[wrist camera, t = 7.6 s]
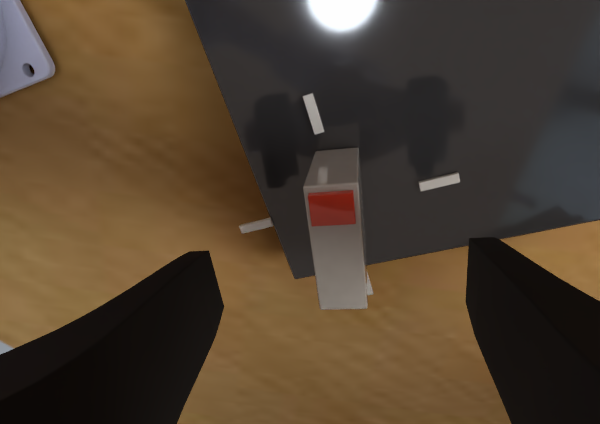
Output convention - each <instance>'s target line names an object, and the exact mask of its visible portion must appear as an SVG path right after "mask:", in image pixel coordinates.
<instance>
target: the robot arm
mask: <svg viewBox="0 0 600 424" xmlns="http://www.w3.org/2000/svg"><path fill="white" fill-rule="evenodd" d="M30 65H31V66H32V67H33V69H34V74H33V73H32V72H31V71H30V68H29V67H30ZM54 73H55V65H54V62H53V60H52V58H51V57H50V55H49V53H48V51H47V49H46V47H45V45H44V44H43V42H42V40H41V38H40V36H39V34H38V33H37V31H36V29H35V27H34V25H33V23H32V21H31V20H30V18H29V16H28V14H27V12H26V10H25V9H24V7H23V5H22V3H21V1H20V0H0V98H1V97H4V96H6V95H9V94H11V93H13V92H16V91H18V90H21V89H23V88H26V87H28V86H31V85H33V84H36V83H38V82H41V81H43V80H46V79H48V78H51V77H52V76H53V75H54ZM466 305H467V309H468V312H469V316H470V320H471V324H472V327H473V331H474V334H475V337H476V340H477V342H478V345H479V347H480V349H481V352H482V354H483V357H484V359H485V361H486V364H487V366H488V369H489V371H490V373H491V376H492V378H493V380H494V383H495V385H496V388H497V390H498V392H499V395H500V397H501V399H502V402H503V404H504V406H505V409H506V411H507V414H508V416H509V419H510V421H511V424H600V301H598V300H596V299H595V298H593V297H591V296H589V295H587V294H586V293H584V292H582V291H580V290H578V289H577V288H575V287H573V286H571V285H570V284H568V283H566V282H565V281H563V280H561V279H560V278H558V277H556V276H555V275H553V274H552V273H550V272H548V271H547V270H545V269H544V268H542V267H540V266H539V265H537V264H536V263H534V262H533V261H531V260H530V259H528V258H527V257H525V256H524V255H522V254H521V253H519V252H518V251H516V250H515V249H513V248H511V247H510V246H508V245H507V244H505V243H504V242H502V241H501V240H499V239H497V238H495V237H483V238H469V250H468V268H467V287H466ZM223 309H224V304H223V301H222V297H221V293H220V290H219V286H218V282H217V279H216V275H215V271H214V268H213V264H212V260H211V257H210V253H209V251H191V252H188V253H186V254H184V255H182V256H180V257H178V258H177V259H175V260H173V261H172V262H170V263H169V264H167V265H165V266H164V267H162V268H161V269H159V270H158V271H156V272H155V273H153V274H152V275H150V276H149V277H147V278H145V279H144V280H142V281H141V282H139V283H138V284H136V285H135V286H133V287H132V288H130V289H128V290H127V291H125V292H123V293H122V294H120V295H118V296H117V297H115V298H113V299H112V300H110V301H108V302H107V303H105V304H104V305H102V306H100V307H99V308H97V309H95V310H93V311H92V312H90V313H88V314H86V315H84V316H82V317H81V318H79V319H77V320H75V321H73V322H71V323H69V324H67V325H65V326H63V327H61V328H59V329H57V330H55V331H53V332H51V333H49V334H47V335H44V336H42V337H40V338H37V339H35V340H33V341H31V342H28V343H26V344H24V345H22V346H19V347H17V348H15V349H13V350H10V351H8V352H6V353H3V354H1V355H0V424H177V422H178V419H179V417H180V415H181V412H182V410H183V407H184V405H185V403H186V401H187V398H188V396H189V394H190V392H191V390H192V387H193V385H194V383H195V381H196V379H197V377H198V374H199V372H200V370H201V368H202V366H203V363H204V361H205V359H206V357H207V355H208V352H209V350H210V348H211V346H212V343H213V341H214V339H215V336H216V333H217V330H218V326H219V323H220V320H221V316H222V312H223Z"/></svg>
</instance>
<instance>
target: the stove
mask: <svg viewBox="0 0 600 424" xmlns="http://www.w3.org/2000/svg"><path fill="white" fill-rule="evenodd" d="M185 2H186V4H187V7H188V9H189V12H190V14H191V17H192V20H193V22H194V25H195V27H196V30H197V32H198V35H199V37H200V40H201V42H202V45H203V47H204V50H205V53H206V55H207V58H208V60H209V63H210V65H211V68H212V70H213V73H214V75H215V78H216V80H217V83H218V86H219V88H220V91H221V93H222V96H223V98H224V101H225V103H226V106H227V108H228V111H229V113H230V116H231V119H232V121H233V124H234V126H235V129H236V131H237V134H238V136H239V139H240V141H241V144H242V146H243V149H244V152H245V154H246V157H247V159H248V162H249V164H250V167H251V169H252V172H253V174H254V177H255V179H256V182H257V185H258V187H259V190H260V192H261V195H262V197H263V200H264V202H265V205H266V207H267V210H268V213H269V215H270V218H266V219H262V220H258V221H254V222H249V223H245V224H241V225H239V228H240V230H241V232H242V234H243V233H247V232H251V231H255V230H260V229H264V228H268V227H272V226H273V225H274V228H275V230H276V233H277V235H278V238H279V240H280V243H281V246H282V248H283V251H284V253H285V256H286V258H287V261H288V263H289V266H290V268H291V271H292V273H293V276H294V278H295V279H299V278H304V277H309V276H314V275H315V270H314V263H313V256H312V249H311V242H310V235H309V227H308V220H307V213H306V206H305V199H304V192H303V186H304V183H305V180H306V177H307V174H308V172H309V169H310V166H311V163H312V160H313V157H314V154H315V152H316V151H324V150H335V149H346V148H359V158H360V172H361V186H362V200H363V214H364V228H365V242H366V260H367V265H371V264H376V263H381V262H386V261H392V260H397V259H402V258H407V257H412V256H417V255H422V254H427V253H433V252H438V251H443V250H448V249H453V248H458V247H463V246H469V238H483V237H495V238H497V239H504V238H510V237H515V236H520V235H525V234H530V233H535V232H540V231H546V230H551V229H556V228H561V227H566V226H571V225H576V224H581V223H587V222H592V221H597V220H600V0H185ZM372 294H374V293H373V289H372V286H371V282H370V279H369V276H368V272H367V295H372Z"/></svg>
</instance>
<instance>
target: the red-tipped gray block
mask: <svg viewBox="0 0 600 424" xmlns="http://www.w3.org/2000/svg"><path fill="white" fill-rule="evenodd" d="M303 192H304V199H305V206H306V213H307V220H308V227H309V235H310V242H311V249H312V256H313V263H314V270H315V277H316V285H317V292H318V299H319V306H320V309H321V310H327V309H367V307H368V296H367V260H366V242H365V228H364V214H363V200H362V186H361V172H360V158H359V148H346V149H335V150H324V151H316V152H315V154H314V157H313V160H312V163H311V166H310V169H309V172H308V174H307V177H306V180H305V183H304V186H303Z"/></svg>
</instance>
